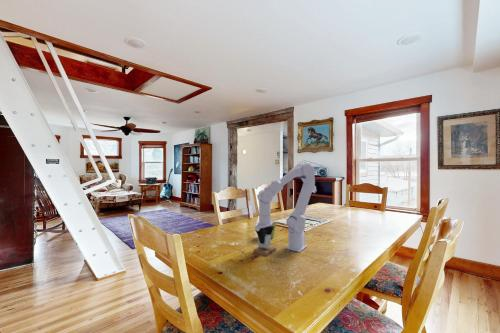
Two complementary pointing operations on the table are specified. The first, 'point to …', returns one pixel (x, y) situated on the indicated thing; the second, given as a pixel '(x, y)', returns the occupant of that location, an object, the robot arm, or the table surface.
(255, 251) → the slab
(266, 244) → the block
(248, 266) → the table surface
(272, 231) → the plant pot
